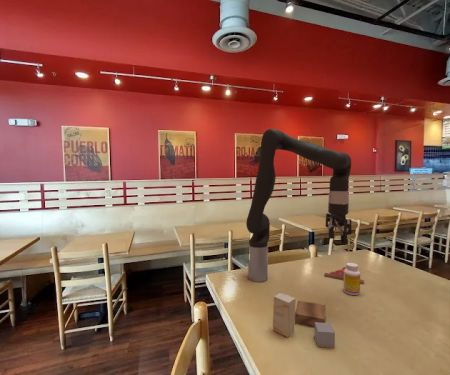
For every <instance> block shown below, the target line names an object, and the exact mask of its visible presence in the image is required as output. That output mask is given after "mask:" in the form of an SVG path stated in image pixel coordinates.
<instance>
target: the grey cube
mask: <svg viewBox="0 0 450 375" xmlns="http://www.w3.org/2000/svg"><path fill="white" fill-rule="evenodd" d="M335 338H336V332H335V330H334V328H333V326H332V323H330V322H325V323H319V322H315V327H314V339H315V341H316V345H317V347H318V346H324V347H323V348H330V347H335V346H336V344H335V342H336V339H335Z"/></svg>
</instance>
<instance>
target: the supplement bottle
mask: <svg viewBox="0 0 450 375" xmlns="http://www.w3.org/2000/svg"><path fill="white" fill-rule="evenodd" d="M345 267H347V268H346V269H345V270H344V281H343V292H344V293H346V294H347V295H351V296H358V295H360V293H361V284H360V280H361V272H360V270H359V265H358V264H357V263H355V262H347V263H346V266H345Z"/></svg>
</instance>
